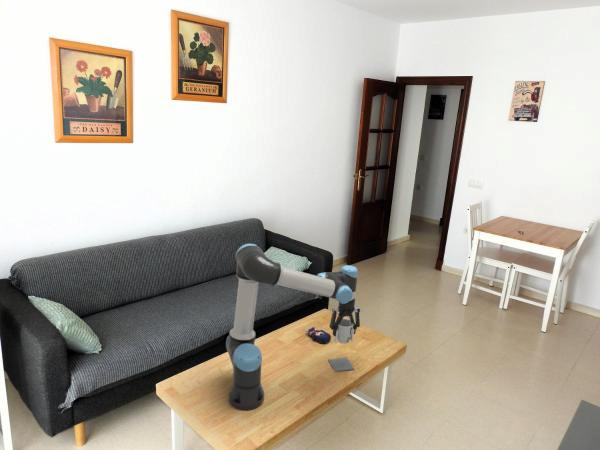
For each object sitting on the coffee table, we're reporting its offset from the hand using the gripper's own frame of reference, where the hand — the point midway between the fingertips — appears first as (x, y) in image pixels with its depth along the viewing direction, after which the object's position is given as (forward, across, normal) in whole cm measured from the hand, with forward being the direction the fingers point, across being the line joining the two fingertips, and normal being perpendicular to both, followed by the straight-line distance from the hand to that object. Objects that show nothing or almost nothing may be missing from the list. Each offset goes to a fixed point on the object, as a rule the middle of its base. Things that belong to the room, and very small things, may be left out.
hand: (343, 340), depth 215 cm
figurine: (+14, -3, +28) cm, 31 cm away
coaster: (+14, 0, 0) cm, 14 cm away
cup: (0, 0, 0) cm, 0 cm away
